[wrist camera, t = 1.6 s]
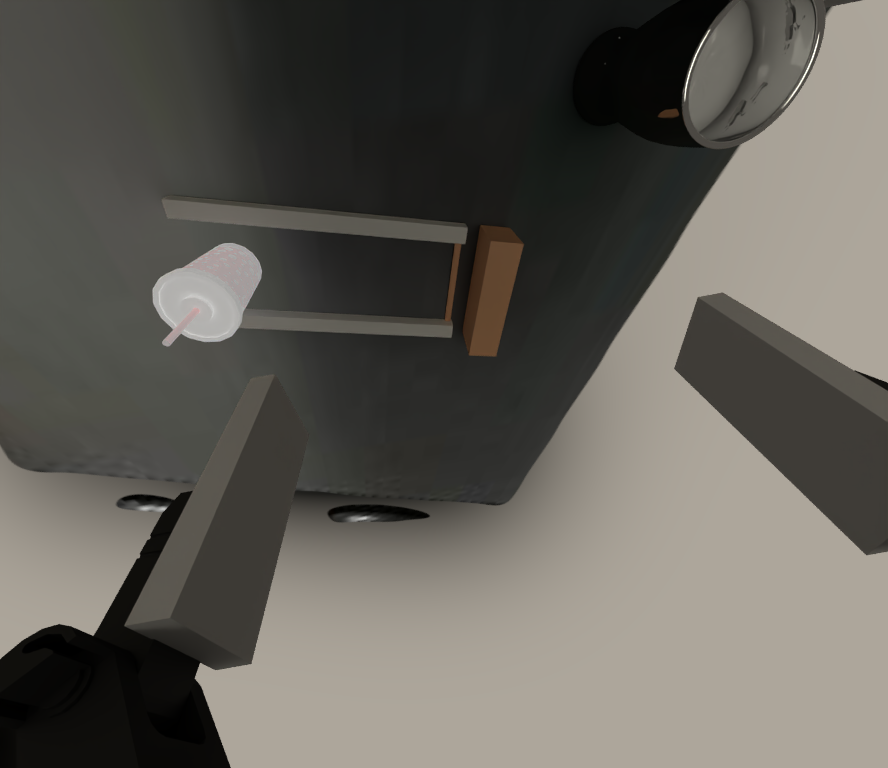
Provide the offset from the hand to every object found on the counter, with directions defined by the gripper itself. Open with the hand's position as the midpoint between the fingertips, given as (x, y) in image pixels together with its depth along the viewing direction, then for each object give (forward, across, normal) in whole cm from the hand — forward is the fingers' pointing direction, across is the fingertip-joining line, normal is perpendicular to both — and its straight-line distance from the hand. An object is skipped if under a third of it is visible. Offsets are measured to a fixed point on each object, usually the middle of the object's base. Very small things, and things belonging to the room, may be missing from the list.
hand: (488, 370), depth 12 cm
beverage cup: (+28, -20, -3) cm, 34 cm away
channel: (+28, -9, -6) cm, 30 cm away
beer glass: (+28, +16, +6) cm, 32 cm away
